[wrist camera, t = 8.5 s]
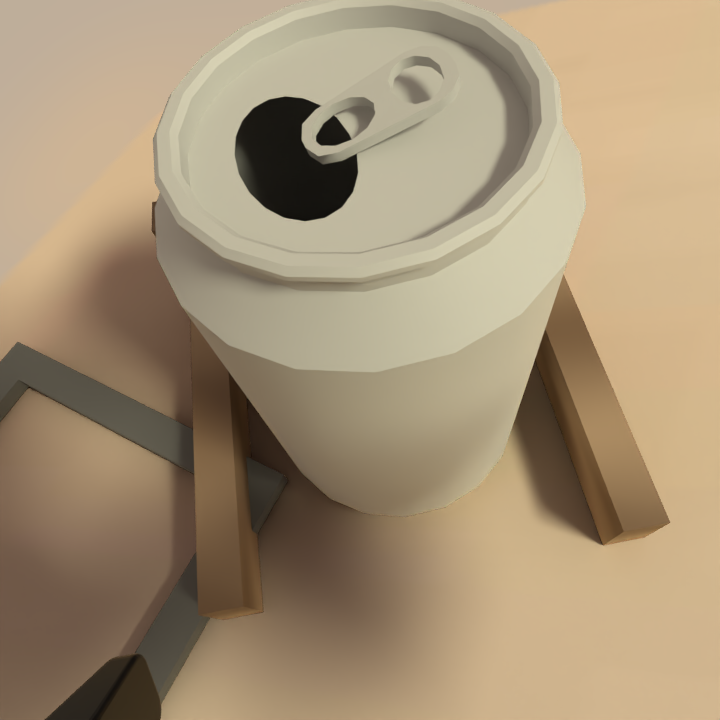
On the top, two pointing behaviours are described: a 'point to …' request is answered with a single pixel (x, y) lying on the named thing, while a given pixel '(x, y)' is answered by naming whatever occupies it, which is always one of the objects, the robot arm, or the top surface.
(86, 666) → the top surface
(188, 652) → the holster frame
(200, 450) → the dock
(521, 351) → the can
